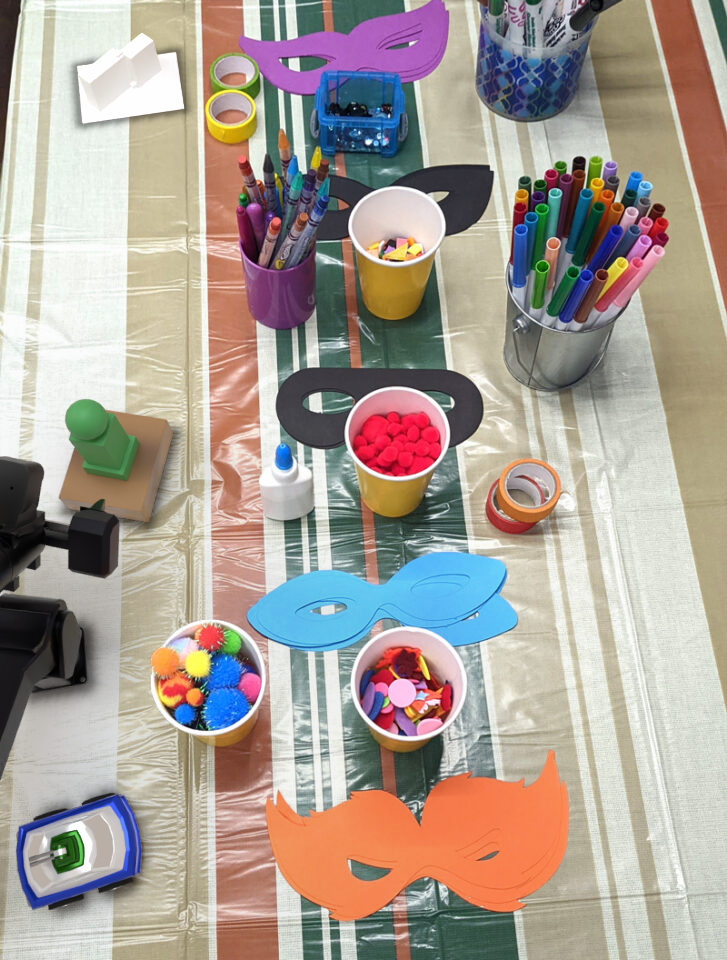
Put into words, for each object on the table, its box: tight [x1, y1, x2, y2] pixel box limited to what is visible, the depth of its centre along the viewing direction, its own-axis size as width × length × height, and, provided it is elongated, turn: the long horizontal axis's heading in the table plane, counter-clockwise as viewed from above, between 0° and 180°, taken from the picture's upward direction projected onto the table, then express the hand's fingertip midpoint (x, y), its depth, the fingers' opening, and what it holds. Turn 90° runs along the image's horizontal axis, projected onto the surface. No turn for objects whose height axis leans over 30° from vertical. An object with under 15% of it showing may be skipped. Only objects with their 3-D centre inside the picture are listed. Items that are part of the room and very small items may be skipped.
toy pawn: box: [64, 398, 139, 481], centre depth 99 cm, size 5×5×13 cm
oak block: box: [58, 409, 174, 523], centre depth 107 cm, size 12×10×4 cm
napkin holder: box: [76, 32, 185, 124], centre depth 128 cm, size 15×11×6 cm
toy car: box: [15, 792, 143, 911], centre depth 89 cm, size 9×12×10 cm
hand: (61, 494), depth 93 cm, fingers open, 9 cm apart
